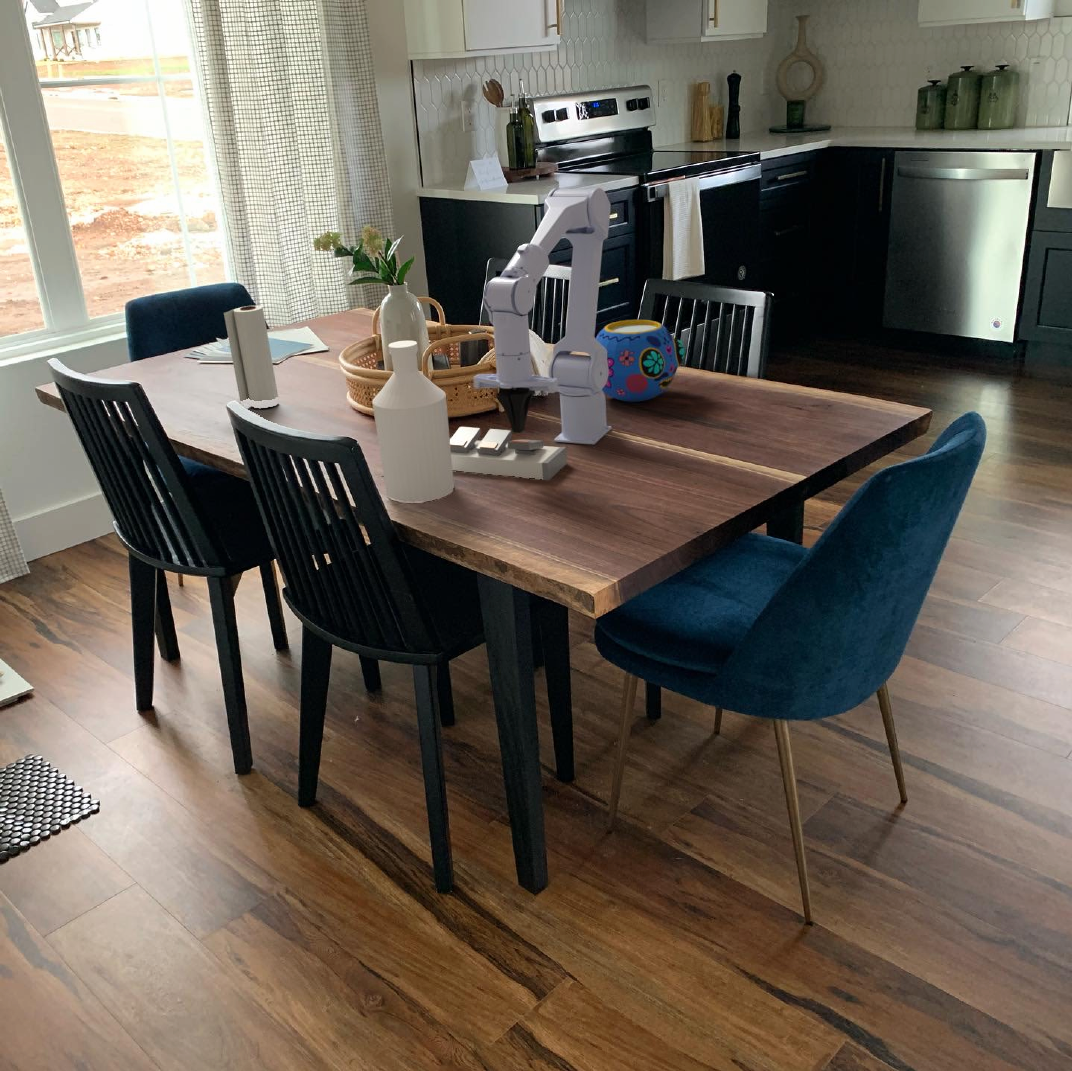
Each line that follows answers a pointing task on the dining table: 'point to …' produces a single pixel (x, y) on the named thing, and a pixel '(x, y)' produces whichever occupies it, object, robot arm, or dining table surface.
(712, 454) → the dining table surface
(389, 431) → the bottle
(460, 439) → the block
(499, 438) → the rocker
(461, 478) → the dining table surface
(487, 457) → the power strip
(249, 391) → the paper towel roll
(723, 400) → the dining table surface
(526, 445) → the rocker
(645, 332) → the ceramic pot
